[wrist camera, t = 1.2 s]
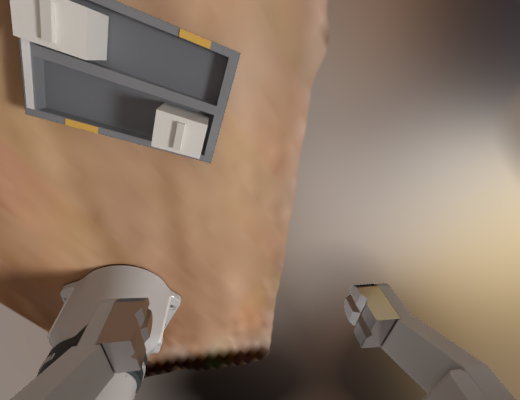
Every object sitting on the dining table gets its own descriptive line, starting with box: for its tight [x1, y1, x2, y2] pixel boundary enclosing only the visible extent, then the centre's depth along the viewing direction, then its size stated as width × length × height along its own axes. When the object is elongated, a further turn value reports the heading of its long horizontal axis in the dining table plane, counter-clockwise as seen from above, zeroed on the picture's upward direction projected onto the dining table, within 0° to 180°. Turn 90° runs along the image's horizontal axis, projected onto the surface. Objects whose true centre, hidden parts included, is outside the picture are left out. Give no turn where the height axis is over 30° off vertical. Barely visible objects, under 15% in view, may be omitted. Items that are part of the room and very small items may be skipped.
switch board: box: [19, 0, 240, 163], centre depth 25 cm, size 12×19×3 cm, turn 69°
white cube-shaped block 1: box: [151, 103, 209, 159], centre depth 26 cm, size 4×5×5 cm
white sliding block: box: [10, 0, 109, 60], centre depth 20 cm, size 4×5×5 cm
